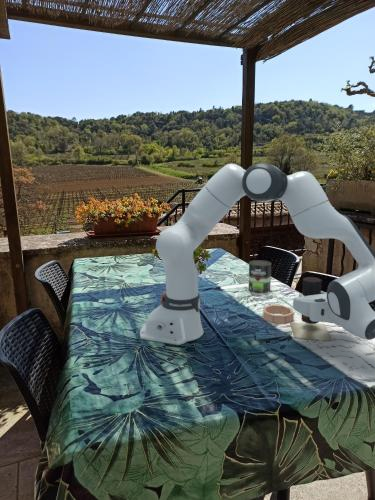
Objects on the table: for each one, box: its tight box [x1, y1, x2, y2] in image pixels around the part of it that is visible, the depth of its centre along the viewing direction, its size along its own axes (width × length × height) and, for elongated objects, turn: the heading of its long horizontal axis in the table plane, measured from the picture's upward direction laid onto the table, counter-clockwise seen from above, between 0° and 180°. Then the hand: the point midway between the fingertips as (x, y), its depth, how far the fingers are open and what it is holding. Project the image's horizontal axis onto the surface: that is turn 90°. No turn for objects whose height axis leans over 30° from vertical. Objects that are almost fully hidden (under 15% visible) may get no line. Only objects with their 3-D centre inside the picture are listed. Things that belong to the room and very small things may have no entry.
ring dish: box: [262, 304, 295, 325], centre depth 131 cm, size 11×11×3 cm
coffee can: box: [248, 259, 272, 296], centre depth 160 cm, size 10×10×14 cm
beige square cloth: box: [289, 321, 333, 341], centre depth 119 cm, size 12×12×1 cm
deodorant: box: [301, 276, 322, 324], centre depth 119 cm, size 6×6×15 cm
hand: (309, 294), depth 119 cm, fingers closed on deodorant, 6 cm apart
